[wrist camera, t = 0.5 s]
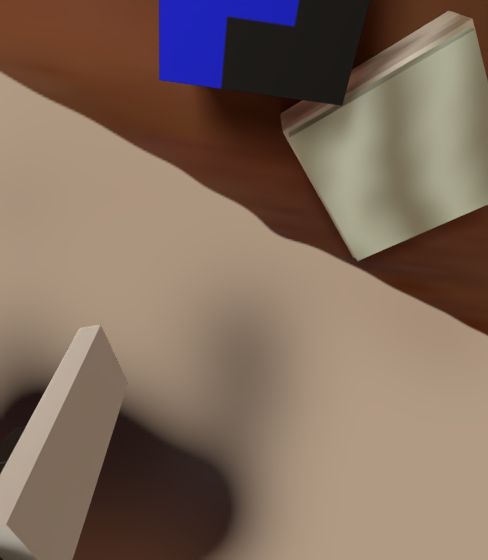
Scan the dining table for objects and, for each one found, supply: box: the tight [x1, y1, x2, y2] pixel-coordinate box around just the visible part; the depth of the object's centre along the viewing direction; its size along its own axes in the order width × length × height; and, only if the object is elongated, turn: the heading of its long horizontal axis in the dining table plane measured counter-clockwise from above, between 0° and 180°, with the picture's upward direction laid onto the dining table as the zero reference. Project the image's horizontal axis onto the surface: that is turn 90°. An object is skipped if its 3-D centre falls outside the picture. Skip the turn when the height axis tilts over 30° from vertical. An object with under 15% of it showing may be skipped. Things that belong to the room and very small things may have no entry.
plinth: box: [280, 11, 488, 261], centre depth 32 cm, size 13×13×5 cm
